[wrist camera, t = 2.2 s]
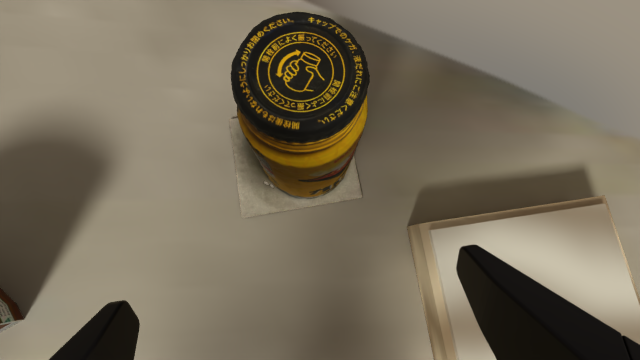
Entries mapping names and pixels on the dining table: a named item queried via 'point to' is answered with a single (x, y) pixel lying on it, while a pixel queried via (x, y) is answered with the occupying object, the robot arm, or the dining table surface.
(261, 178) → the condiment
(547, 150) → the dining table surface
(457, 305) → the picture frame
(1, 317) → the food container
